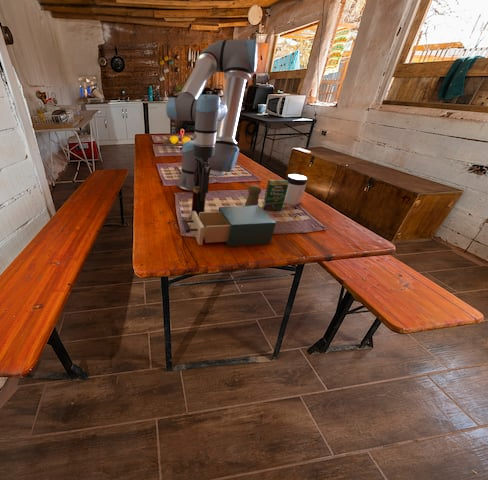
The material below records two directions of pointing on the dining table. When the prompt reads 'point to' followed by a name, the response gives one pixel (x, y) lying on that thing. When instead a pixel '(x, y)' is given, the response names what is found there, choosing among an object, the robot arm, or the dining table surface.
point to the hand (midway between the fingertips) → (198, 204)
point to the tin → (194, 201)
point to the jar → (295, 189)
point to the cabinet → (248, 225)
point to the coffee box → (275, 194)
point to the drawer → (208, 227)
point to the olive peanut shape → (253, 195)
